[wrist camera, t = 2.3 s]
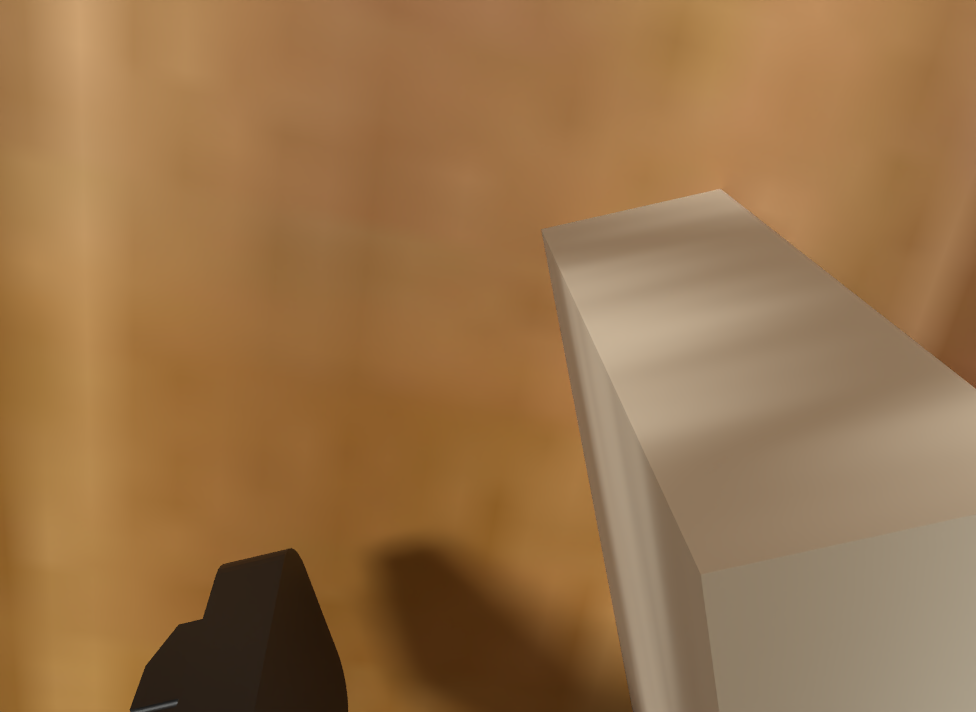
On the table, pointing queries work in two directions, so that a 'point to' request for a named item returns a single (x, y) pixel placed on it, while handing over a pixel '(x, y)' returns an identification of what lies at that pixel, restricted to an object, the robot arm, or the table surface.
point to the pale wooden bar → (766, 471)
